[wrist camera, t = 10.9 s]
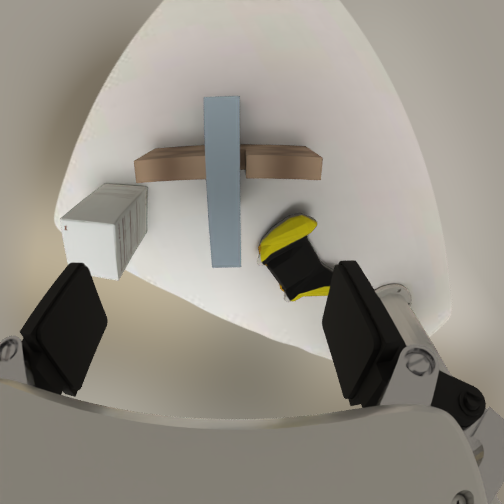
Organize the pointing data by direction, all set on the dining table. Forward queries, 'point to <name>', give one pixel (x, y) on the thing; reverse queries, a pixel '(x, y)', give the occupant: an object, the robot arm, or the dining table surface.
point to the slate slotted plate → (223, 178)
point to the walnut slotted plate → (251, 160)
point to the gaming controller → (294, 258)
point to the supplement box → (106, 229)
